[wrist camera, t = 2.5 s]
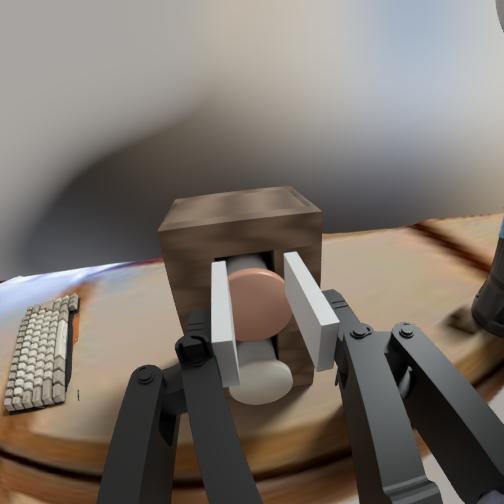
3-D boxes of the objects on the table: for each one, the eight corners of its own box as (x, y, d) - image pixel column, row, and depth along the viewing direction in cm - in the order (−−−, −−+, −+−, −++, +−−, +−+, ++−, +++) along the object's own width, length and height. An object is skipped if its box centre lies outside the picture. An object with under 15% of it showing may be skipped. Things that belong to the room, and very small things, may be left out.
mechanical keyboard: (83, 403, 35) (74, 390, 33) (7, 419, 27) (-4, 408, 25) (81, 299, 65) (77, 288, 64) (28, 316, 57) (23, 306, 56)
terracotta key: (271, 275, 36) (268, 223, 33) (293, 335, 26) (293, 269, 23) (216, 282, 36) (208, 230, 33) (218, 346, 25) (205, 281, 22)
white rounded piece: (275, 337, 41) (273, 299, 38) (292, 398, 30) (293, 361, 27) (227, 344, 41) (220, 306, 38) (233, 407, 30) (224, 371, 27)
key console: (293, 330, 49) (289, 185, 38) (312, 383, 38) (321, 211, 27) (205, 342, 48) (175, 199, 37) (205, 399, 36) (157, 231, 26)
